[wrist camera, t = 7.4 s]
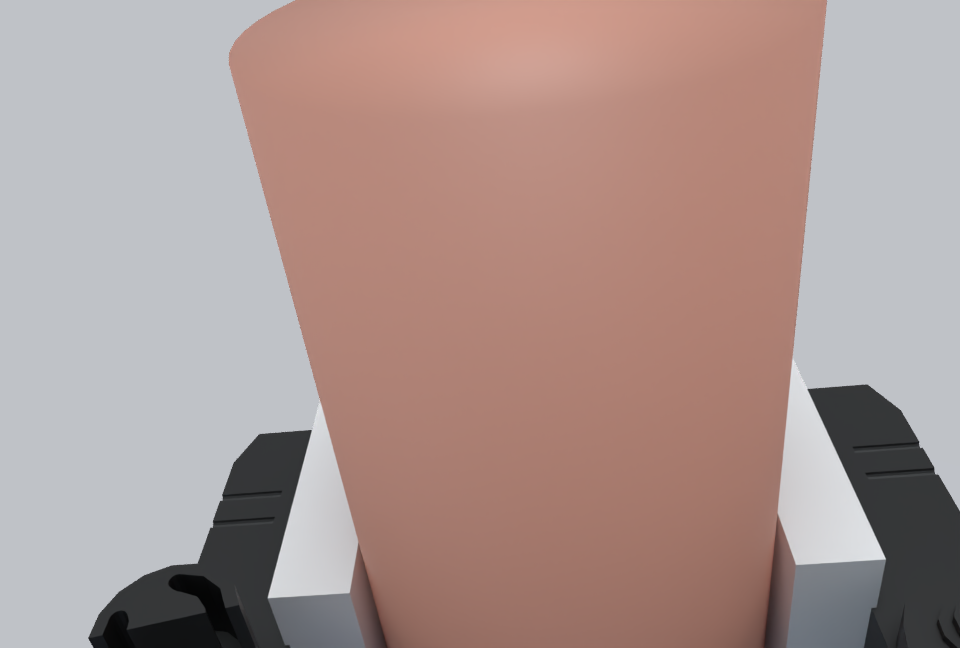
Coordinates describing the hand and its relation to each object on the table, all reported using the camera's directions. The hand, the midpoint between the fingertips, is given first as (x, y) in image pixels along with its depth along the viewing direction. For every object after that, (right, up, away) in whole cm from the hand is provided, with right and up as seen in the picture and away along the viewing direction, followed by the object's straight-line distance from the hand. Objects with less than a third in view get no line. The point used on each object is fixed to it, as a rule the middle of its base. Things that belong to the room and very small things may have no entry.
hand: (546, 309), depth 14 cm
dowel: (+1, -10, 0) cm, 10 cm away
